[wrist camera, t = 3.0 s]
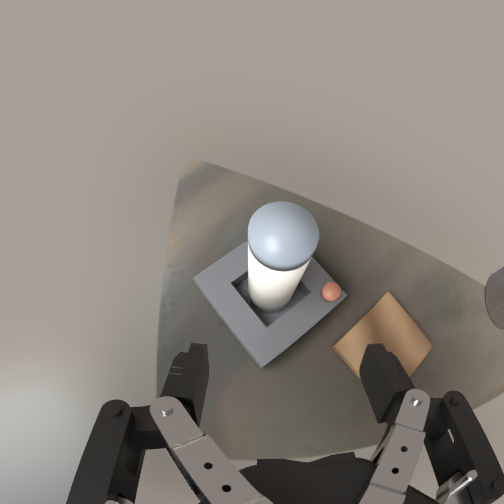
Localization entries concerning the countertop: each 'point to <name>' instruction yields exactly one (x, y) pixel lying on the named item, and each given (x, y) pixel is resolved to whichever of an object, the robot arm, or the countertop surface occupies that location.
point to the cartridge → (278, 253)
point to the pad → (385, 336)
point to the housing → (259, 324)
